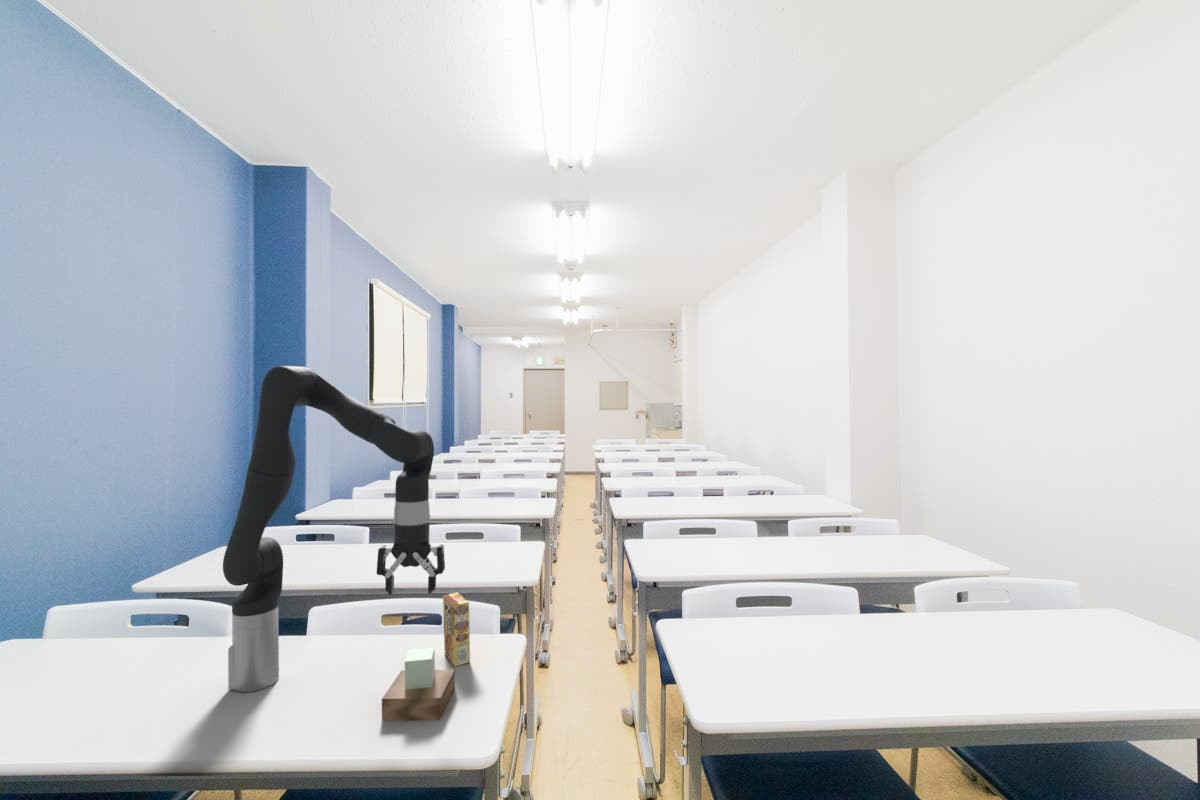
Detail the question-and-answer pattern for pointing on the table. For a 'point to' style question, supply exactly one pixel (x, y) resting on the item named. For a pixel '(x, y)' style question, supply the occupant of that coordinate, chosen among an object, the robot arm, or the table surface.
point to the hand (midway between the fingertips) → (411, 592)
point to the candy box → (456, 629)
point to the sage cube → (419, 668)
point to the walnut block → (418, 699)
